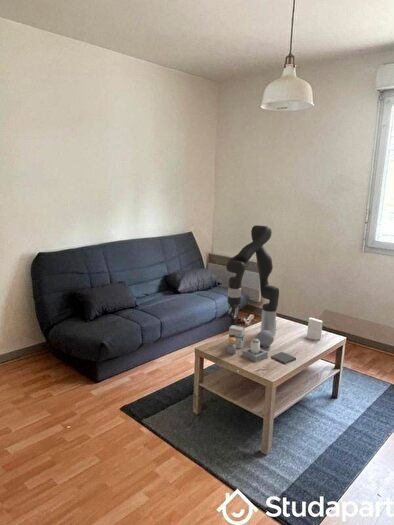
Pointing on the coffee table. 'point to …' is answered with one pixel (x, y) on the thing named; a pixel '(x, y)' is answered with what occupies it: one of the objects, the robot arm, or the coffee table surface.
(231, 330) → the ink box
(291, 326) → the coffee table surface
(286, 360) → the rubber mat
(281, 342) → the coffee table surface
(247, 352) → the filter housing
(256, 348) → the cylinder
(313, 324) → the white upright block
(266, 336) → the decorative stone
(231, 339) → the plunger
